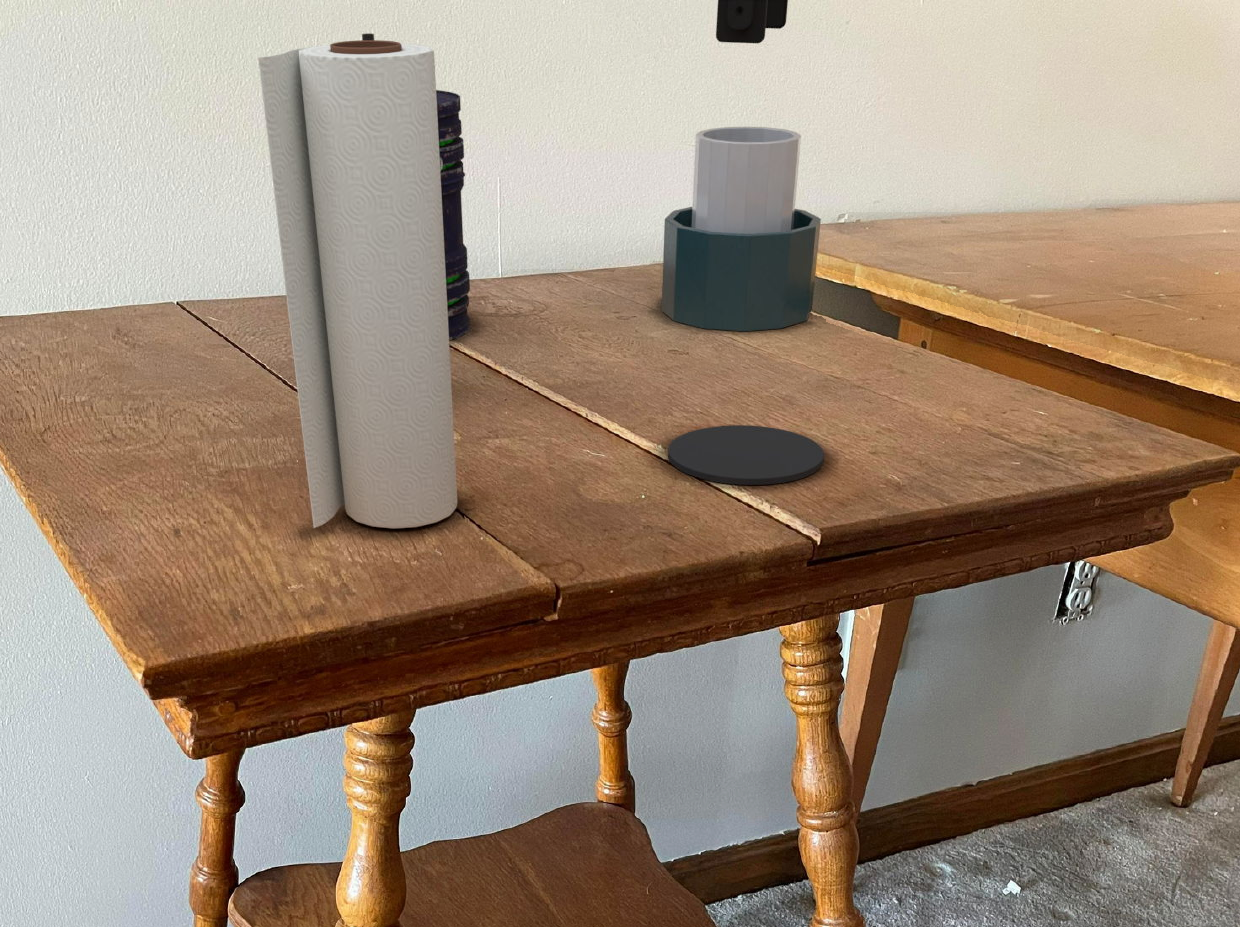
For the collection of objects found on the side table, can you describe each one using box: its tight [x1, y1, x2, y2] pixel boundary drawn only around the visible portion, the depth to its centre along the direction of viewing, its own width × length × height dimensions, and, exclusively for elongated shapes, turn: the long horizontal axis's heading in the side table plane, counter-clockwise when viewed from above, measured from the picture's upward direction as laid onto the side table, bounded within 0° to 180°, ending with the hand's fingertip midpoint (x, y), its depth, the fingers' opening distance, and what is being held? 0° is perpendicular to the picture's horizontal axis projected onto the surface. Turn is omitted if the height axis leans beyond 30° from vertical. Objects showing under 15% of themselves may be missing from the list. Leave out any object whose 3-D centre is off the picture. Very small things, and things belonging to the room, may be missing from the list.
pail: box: [661, 206, 822, 332], centre depth 104 cm, size 11×11×6 cm
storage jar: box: [436, 89, 471, 341], centre depth 98 cm, size 10×10×15 cm
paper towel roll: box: [257, 39, 458, 529], centre depth 68 cm, size 7×6×21 cm
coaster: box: [667, 424, 825, 486], centre depth 80 cm, size 9×9×1 cm
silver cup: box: [691, 126, 802, 234], centre depth 103 cm, size 7×7×12 cm
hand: (751, 34), depth 95 cm, fingers open, 9 cm apart
